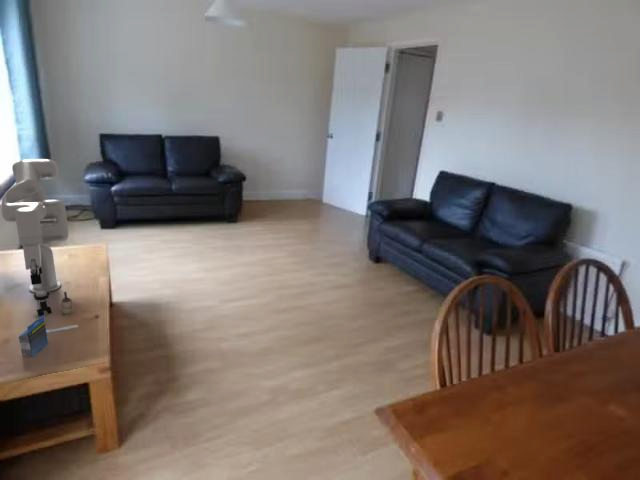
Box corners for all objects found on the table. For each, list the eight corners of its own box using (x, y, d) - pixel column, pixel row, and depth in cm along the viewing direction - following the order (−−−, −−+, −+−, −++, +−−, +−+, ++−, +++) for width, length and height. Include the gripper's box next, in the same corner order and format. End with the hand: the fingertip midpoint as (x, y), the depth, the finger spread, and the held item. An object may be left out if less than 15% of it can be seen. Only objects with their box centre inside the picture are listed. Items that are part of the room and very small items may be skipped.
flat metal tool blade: (39, 332, 162) (39, 331, 162) (77, 325, 169) (77, 324, 169) (39, 334, 160) (39, 334, 160) (78, 327, 167) (78, 326, 167)
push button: (36, 319, 170) (32, 297, 167) (30, 315, 173) (27, 293, 170) (54, 313, 175) (51, 292, 172) (48, 309, 178) (45, 288, 175)
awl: (62, 312, 177) (59, 290, 174) (73, 310, 179) (70, 289, 176) (62, 316, 174) (59, 295, 170) (73, 314, 176) (71, 293, 172)
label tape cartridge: (38, 342, 156) (33, 313, 152) (48, 343, 156) (44, 314, 152) (21, 356, 147) (16, 326, 143) (32, 357, 147) (27, 327, 143)
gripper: (20, 232, 167) (27, 271, 173) (17, 247, 153) (24, 289, 159) (42, 231, 171) (48, 269, 177) (41, 245, 157) (47, 286, 163)
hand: (37, 278), depth 168 cm, fingers open, 9 cm apart
